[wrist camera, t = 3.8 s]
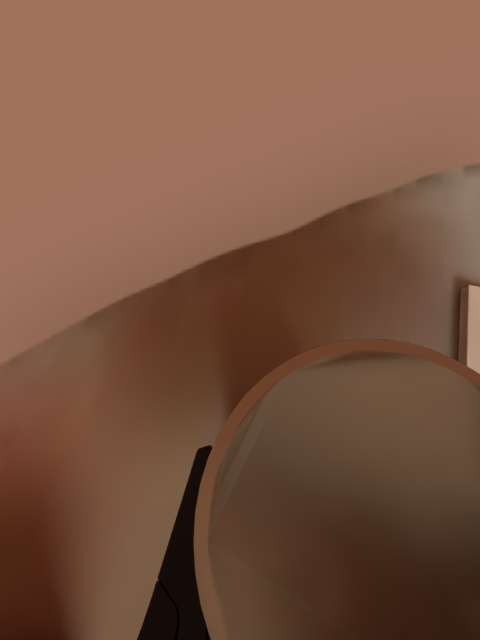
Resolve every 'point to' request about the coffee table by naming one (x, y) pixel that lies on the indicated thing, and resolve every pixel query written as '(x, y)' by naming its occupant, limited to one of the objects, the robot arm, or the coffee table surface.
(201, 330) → the coffee table surface
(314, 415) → the canister
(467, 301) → the mat
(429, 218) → the coffee table surface
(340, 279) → the coffee table surface
